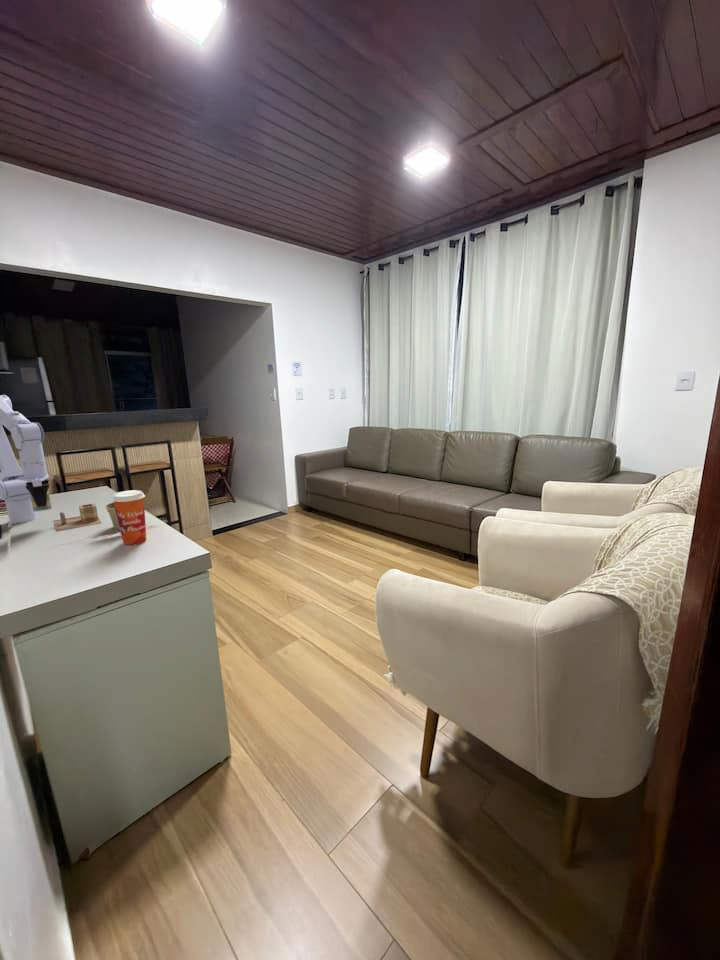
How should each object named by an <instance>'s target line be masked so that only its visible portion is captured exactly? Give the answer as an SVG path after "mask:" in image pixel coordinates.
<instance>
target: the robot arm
mask: <svg viewBox="0 0 720 960" xmlns="http://www.w3.org/2000/svg"><path fill="white" fill-rule="evenodd" d="M3 426H4V427H5V428H6V429H7V430H8V431H9V432H10V435H11V438H12V440H13V443H14V446H15V449H16V450H18V454H19V459H20V465H21V467H20V465H19V463H18V461H17V458H16V456H15V453H14V450H13V449H12V446H11V444H10V441H9V439H8V436H7V434H6V431H5V429H4V427H3ZM44 440H45V432H44V429H43V426H42V425H41V424H40V423H39V422H31V421H30V420H29V419H27V417H26V416H24V414H22V413H20V412H19V411H14V410H13V404H12V400H11V398H10V397H9V396H8V395H6V394H2V395H0V500H2V501H4V502H5V507H6V511H7V516H8V526H7V527H8V528H9V529H12V527H13V524H23V523H28V522H31V521H35V520H37V519H38V514H37V512H38V511H36V512H33V507H32V502H31V497H30V494H31V495H32V496H33V499H34V501H35V503H36V505H37V507H42V506H46V503H47V492H48V490H49V488H50V483H49V481H50V479H49V478H50V475H49V473H48V469H47V463H46V459H45V454H44V447H43V444H42V442H43V441H44Z"/></svg>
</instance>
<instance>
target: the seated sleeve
mask: <svg viewBox="0 0 720 960" xmlns="http://www.w3.org/2000/svg"><path fill="white" fill-rule="evenodd" d="M78 509H79V514H80V515H79V516H81V520H82V522H89V521H95V520H98V518H99V514H98V510H97V505H96V504H95V503H94V502H92V503H87V504H86V503H84V504H81V505H78Z"/></svg>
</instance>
